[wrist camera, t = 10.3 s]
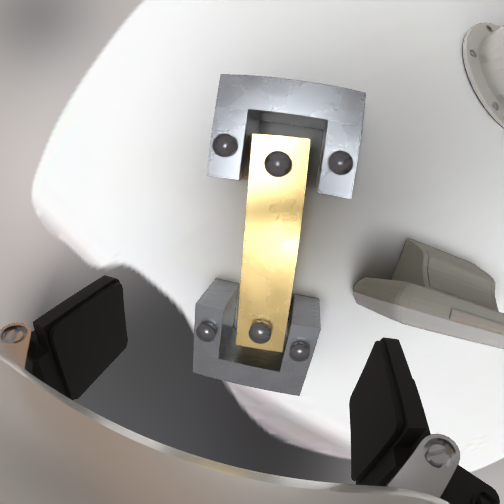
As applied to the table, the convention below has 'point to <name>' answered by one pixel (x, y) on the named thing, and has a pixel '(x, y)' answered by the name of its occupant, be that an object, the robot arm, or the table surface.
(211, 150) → the bracket
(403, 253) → the digital clock
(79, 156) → the table surface
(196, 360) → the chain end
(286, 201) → the link bar
